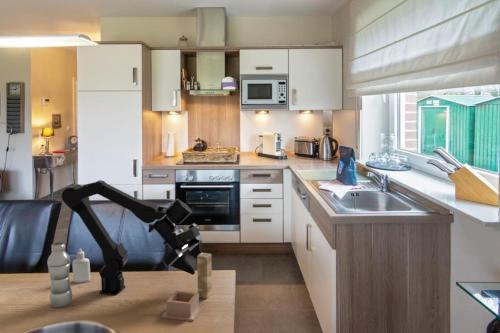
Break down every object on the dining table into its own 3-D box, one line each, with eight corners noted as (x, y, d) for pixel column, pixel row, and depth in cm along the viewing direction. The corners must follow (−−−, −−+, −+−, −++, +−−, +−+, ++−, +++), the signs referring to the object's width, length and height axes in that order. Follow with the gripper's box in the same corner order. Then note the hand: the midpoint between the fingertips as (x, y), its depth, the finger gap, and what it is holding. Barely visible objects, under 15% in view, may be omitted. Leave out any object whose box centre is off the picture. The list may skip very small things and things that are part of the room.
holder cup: (161, 317, 121) (160, 303, 120) (174, 302, 131) (173, 288, 130) (193, 321, 119) (193, 306, 118) (204, 305, 129) (203, 291, 128)
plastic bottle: (77, 302, 131) (74, 241, 128) (61, 311, 125) (57, 248, 122) (61, 298, 133) (58, 239, 130) (45, 308, 127) (41, 246, 124)
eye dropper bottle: (84, 284, 145) (83, 251, 143) (71, 282, 146) (69, 250, 144) (92, 279, 149) (90, 247, 147) (79, 277, 150) (77, 246, 149)
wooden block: (197, 296, 135) (197, 256, 133) (202, 292, 138) (201, 252, 136) (207, 298, 134) (207, 257, 132) (211, 294, 137) (211, 253, 135)
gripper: (170, 225, 126) (203, 263, 124) (196, 211, 144) (226, 245, 142) (149, 247, 130) (181, 285, 128) (177, 231, 147) (206, 264, 145)
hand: (200, 268), depth 135 cm, fingers open, 9 cm apart
